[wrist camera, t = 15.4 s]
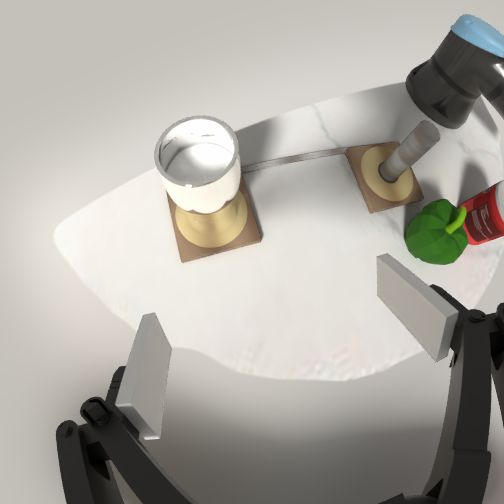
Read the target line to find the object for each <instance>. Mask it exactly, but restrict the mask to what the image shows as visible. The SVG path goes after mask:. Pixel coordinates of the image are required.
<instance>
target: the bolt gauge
mask: <svg viewBox="0 0 504 504" xmlns="http://www.w3.org/2000/svg"><path fill="white" fill-rule="evenodd" d="M439 140H440V134H439V131H438V129H437V128H436V127H435V126H434V125H433V124H432V123H431V122H429V121H426V120H424V121H421V122H420V124H419V125H418V126H417V127H416V128H415V129H414V130H413V131H412V132H411V134H410V135H409V136H408V137H407V138H406V139H405V140H404V141H403V142H402V143H401V144H400V143H399V142H390V143H381V144H373V145H365V146H358V147H351V148H347V149H346V151H345V149H344V148H338V149H331V150H325V151H319V152H313V153H307V154H302V155H296V156H291V157H286V158H281V159H276V160H271V161H266V162H261V163H257V164H252V165H248V166H243V167H241V173H245V172H249V171H254V170H258V169H263V168H267V167H272V166H277V165H282V164H287V163H292V162H297V161H302V160H307V159H313V158H319V157H324V156H330V155H336V154H343V153H345V154H346V156H347V158H348V160H349V163H350V165H351V167H352V170H353V172H354V174H355V177H356V179H357V182H358V184H359V186H360V189H361V191H362V194H363V196H364V199H365V202H366V204H367V207H368V210H369V212H370V213H374V212H378V211H382V210H386V209H390V208H394V207H398V206H402V205H406V204H410V203H414V202H418V201H421V200H422V199H424V196H423V194H422V191H421V189H420V187H419V184H418V182H417V180H416V177H415V175H414V173H413V170H412V168H411V166H412V165H413V164H414V163H415V162H416V161H417V160H418V159H419V158H421V157H422V156H423V155H424V154H425V153H426V152H427V151H428V150H429V149H430V148H432V147H433V146H434V145H435V144H436V143H437V142H438V141H439ZM166 192H167V190H166ZM167 197H168V202H169V208H170V213H171V218H172V222H173V227H174V232H175V236H176V241H177V246H178V250H179V254H180V259H181V262H183V263H184V262H188V261H191V260H195V259H199V258H203V257H206V256H210V255H214V254H218V253H221V252H225V251H229V250H233V249H236V248H240V247H244V246H248V245H251V244H255V243H259V242H261V237H260V234H259V231H258V227H257V224H256V220H255V217H254V214H253V210H252V207H251V204H250V200H249V197H248V194H247V190H246V187H245V184H244V180H243V177H242V174H241V177H240V185H239V188H238V191H237V194H236V197H235V199H234V202H235V205H236V217H235V220H234V222H233V224H232V225H231V226H230V227H229V228H228V229H227V230H226V231H224V232H223V233H220V234H217V235H204V234H201V233H199V232H197V231H196V230H195V229H194V228H193V227H192V226H191V225H190V223H189V221H188V218H187V213H186V212H185V211H183V210H182V209H181V208H180V207H179V206H178V205H177V204H176V203H175V202H174V201H173V200H172V198H171V197H170V195H169V194H168V192H167Z"/></svg>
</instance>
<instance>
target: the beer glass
mask: <svg viewBox="0 0 504 504" xmlns="http://www.w3.org/2000/svg"><path fill="white" fill-rule="evenodd" d="M154 158H155V164H156V167H157V169H158V171H159V174H160V177H161V179H162V182H163V184H164V186H165V188H166V190H167V192H168V194H169V195H170V197H171V198H172V200H173V201H174V202H175V203H176V204H177V205H178V206H179V207H180V208H181V209H182V210H183V211H185V212H186V213H187V218H188V221H189V223H190V225H191V226H192V227H193V228H194V229H195V230H196V231H197V232H199V233H201V234H204V235H217V234H220V233H223V232H224V231H226V230H227V229H228V228H229V227H230V226H231V225H232V224H233V222H234V220H235V217H236V205H235V202H234V199H235V197H236V194H237V191H238V188H239V185H240V177H241V162H240V154H239V144H238V139H237V137H236V134H235V133H234V131H233V130H232V128H231V127H230V126H229V125H227V124H226V123H225V122H223V121H221V120H219V119H217V118H214V117H210V116H192V117H188V118H185V119H182V120H179V121H178V122H176V123H174V124H172V125H171V126H170V127H169V128H167V129H166V130H165V131H164V133H163V134H162V135H161V137H160V138H159V140H158V142H157V144H156V148H155V153H154Z"/></svg>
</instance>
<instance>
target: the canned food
mask: <svg viewBox="0 0 504 504" xmlns="http://www.w3.org/2000/svg"><path fill="white" fill-rule="evenodd" d="M461 206H464V207H465V208H466V217H465V220H464V227H463V228H464V230H465V231H466V233H467V236H468V241H469V244H471V245H479V244H482V243H485V242H488V241H491V240H493V239H496V238H499V237H502V236H504V180H502V181H500V182H498V183H496V184H494V185H493V186H491V187H489V188H488V189H486V190H484V191H482V192H481V193H479V194H477V195H475V196H474V197H472V198H470V199H468V200H467V201H465V202H463V203H462V204H461V205H460V207H461ZM460 207H459V208H458V209H459V210H460Z"/></svg>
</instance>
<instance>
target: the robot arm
mask: <svg viewBox="0 0 504 504" xmlns="http://www.w3.org/2000/svg"><path fill="white" fill-rule="evenodd" d="M406 86H407V89H408V92H409V94H410V96H411V97H412V99H413V100H414V102H415V103H416V104H417V106H418V107H419V108H420V109H421V110H422V111H423V112H424V113H425V114H426V115H427V116H428V117H430V118H431V119H432V120H434V121H435V122H437V123H438V124H440V125H442V126H444V127H446V128H450V129H457V128H459V127H461V126H462V125H463V124H464V123H465V122H466V120H467V118H468V116H469V114H470V111H471V109H472V106H473V104H474V101H475V100H476V99H477V98H478V97H479V96H480V95H481V94H482V95H483V96H484V97H485V98H486V99H487V100H488V101H489V102H490V103H491V104H492V106H493V107H494V108H495V109H496V110H497V111H498V113H499V114H500V115H501V116H502V118H503V119H504V36H503V35H502V34H501V33H500V32H499V31H498V30H496V29H495V28H493V27H492V26H491V25H489V24H488V23H486V22H485V21H483V20H481V19H479V18H477V17H475V16H472V15H468V14H465V15H462V16H460V17H459V19H458V20H457V21H456V23H455V24H454V25H452V26H451V30H450V32H449V33H448V35H447V36H446V37H445V39H444V40H443V42H442V43H441V45H440V46H439V48H438V49H437V50H436V52H435V53H434V55H433V56H432V57H431V59H429V60H427V61H426V62H424V63H422V64H421V65H419V66H417V67H416V68H414V69H413V70H412V71H411V72H410V74H409V75H408V77H407V79H406ZM377 296H378V297H379V298H380V299H381V300H382V301H383V303H384V304H385V305H386V306H387V307H388V308H389V309H390V310H391V311H392V312H393V314H394V315H395V316H396V317H397V318H398V319H399V320H400V321H401V323H402V324H403V325H404V326H405V327H406V328H407V329H408V331H409V332H410V333H411V334H412V335H413V336H414V337H415V339H416V340H417V341H418V342H419V343H420V344H421V346H422V347H423V348H424V349H425V350H426V351H427V353H428V354H429V355H430V356H431V357H432V359H433V360H434V361H435V362H438V361H439V360H441V359H443V358H445V357H447V355H448V352H449V349H450V348H451V349H452V350H453V351H454V354H453V357H452V360H451V363H450V366H449V367H452V370H451V379H450V387H449V394H448V401H447V407H446V413H445V418H444V423H443V429H442V433H441V438H440V442H439V446H438V450H437V454H436V458H435V461H434V465H433V469H432V472H431V475H430V477H429V480H428V482H427V484H426V485H425V487H424V490H423V492H422V495H413V496H407V497H404V495H403V494H402V493H401V494H399V495H397V496H395V497H393V498H391V499H388V500H386V501H384V502H381V503H379V504H482V501H483V497H484V493H485V489H486V484H487V479H488V474H489V469H490V463H491V453H490V452H489V451H487V443H488V435H489V426H490V413H491V373H492V377H493V381H494V384H495V388H496V392H497V397H498V401H499V405H500V410H501V415H502V420H503V426H504V303H500V304H499V305H498V307H497V311H496V313H492V314H487V315H486V314H485V313H484V312H482V311H480V310H476V309H471V310H468V309H467V308H465V307H464V306H463V305H462V304H461V303H460V302H458V301H457V300H456V299H455V298H454V297H453V298H452V296H451V295H450V294H449V293H447V292H446V291H445V290H444V289H442V288H441V287H439V286H436V285H434V284H432V285H430V286H428V285H427V284H426V283H425V282H423V281H422V280H421V279H420V278H418V277H417V276H416V275H415V274H413V273H412V272H411V271H410V270H408V269H407V268H406V267H405V266H403V265H402V264H401V263H399V262H398V261H397V260H396V259H394V258H393V257H392V256H390V255H389V254H388V253H387V254H383V255H380V256H377ZM171 351H172V348H171V346H170V344H169V342H168V340H167V338H166V336H165V333H164V331H163V329H162V327H161V325H160V323H159V321H158V318H157V316H156V314H155V313H151V314H146V315H143V317H142V319H141V322H140V325H139V328H138V331H137V334H136V337H135V340H134V343H133V346H132V349H131V352H130V355H129V359H128V362H127V365H126V366H121V367H119V368H118V369H117V370H116V372H115V373H114V375H113V378H112V381H111V382H112V383H111V384H110V389H109V390H108V393H107V397H106V400H105V401H104V400H103V399H102V398H101V397H92V398H90V399H88V400H87V401H86V402H84V403H83V405H82V406H81V410H80V414H81V416H82V417H83V418H84V419H85V420H86V421H87V424H83V425H80V426H78V425H77V424H76V423H75V422H73V421H71V420H68V421H64V422H63V423H61V424H60V425H59V426H58V428H57V430H56V441H57V451H58V458H59V466H60V472H61V478H62V484H63V489H64V494H65V498H66V502H67V504H124V502H123V499H122V497H121V494H120V491H119V489H118V486H117V483H116V480H115V478H114V474H113V471H112V468H111V465H110V462H109V460H112V462H113V463H114V465H115V466H116V468H117V469H118V471H119V472H120V474H121V475H122V477H123V478H124V479H125V481H126V482H127V484H128V485H129V486H130V487H131V489H132V490H133V492H134V493H135V494H136V496H137V497H138V498H139V499H140V501H141V502H142V503H143V504H199V503H197V502H196V501H195V500H194V499H193V498H192V497H191V496H190V495H189V494H188V493H187V492H186V491H185V490H184V489H183V488H182V487H181V486H180V485H179V484H178V483H177V482H176V481H175V480H174V479H173V478H172V477H171V476H170V475H169V474H168V473H167V472H166V471H165V470H164V468H163V467H162V466H161V465H160V464H159V463H158V462H157V461H156V460H155V458H154V457H153V456H152V455H151V454H150V453H149V451H148V450H147V449H146V448H145V447H144V446H143V444H142V443H141V442H140V441H139V440H138V439H139V433H140V434H141V435H142V436H143V437H144V438H145V439H159V438H160V433H161V425H162V416H163V408H164V400H165V392H166V385H167V377H168V370H169V364H170V357H171Z"/></svg>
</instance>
